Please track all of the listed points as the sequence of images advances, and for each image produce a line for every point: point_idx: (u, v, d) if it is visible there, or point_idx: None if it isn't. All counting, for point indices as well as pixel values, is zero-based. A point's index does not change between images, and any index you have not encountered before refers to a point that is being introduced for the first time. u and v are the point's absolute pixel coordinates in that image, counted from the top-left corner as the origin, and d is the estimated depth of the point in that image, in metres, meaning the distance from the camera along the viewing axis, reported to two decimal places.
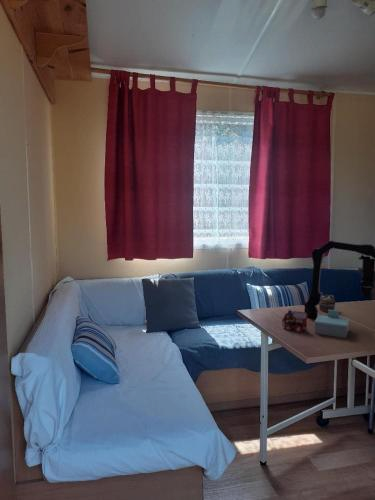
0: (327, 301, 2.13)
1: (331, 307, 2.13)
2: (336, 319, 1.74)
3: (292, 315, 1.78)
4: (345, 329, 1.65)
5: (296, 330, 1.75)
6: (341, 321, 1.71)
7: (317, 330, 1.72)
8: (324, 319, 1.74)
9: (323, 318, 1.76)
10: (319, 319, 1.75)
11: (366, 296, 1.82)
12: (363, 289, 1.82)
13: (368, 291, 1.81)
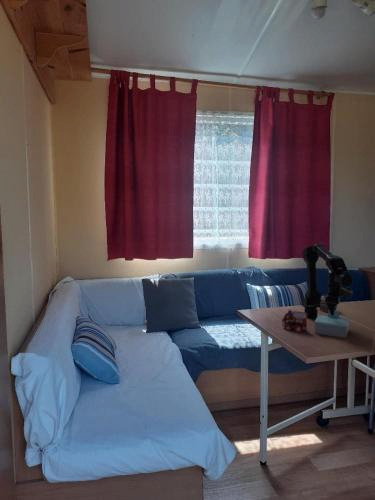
0: None
1: None
2: (336, 319, 1.74)
3: (292, 315, 1.78)
4: (345, 329, 1.65)
5: (296, 330, 1.75)
6: (341, 321, 1.71)
7: (317, 330, 1.72)
8: (324, 319, 1.74)
9: (323, 318, 1.76)
10: (319, 319, 1.75)
11: (332, 312, 1.74)
12: (328, 305, 1.73)
13: (333, 307, 1.72)
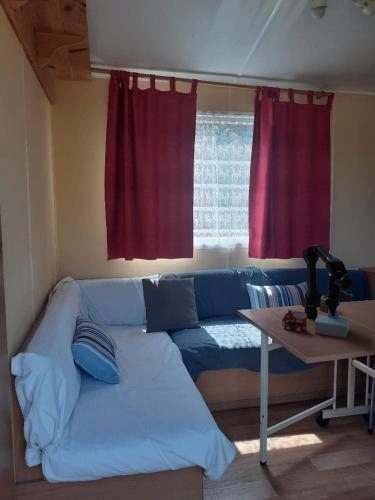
0: None
1: None
2: (336, 319, 1.74)
3: (292, 315, 1.78)
4: (345, 329, 1.65)
5: (296, 330, 1.75)
6: (341, 321, 1.71)
7: (317, 330, 1.72)
8: (324, 319, 1.75)
9: (323, 318, 1.76)
10: (319, 319, 1.75)
11: (332, 313, 1.77)
12: (329, 306, 1.76)
13: (334, 308, 1.76)
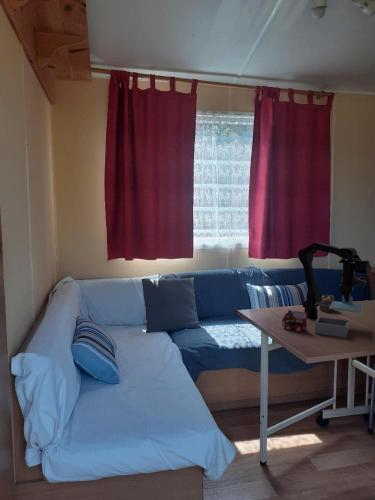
0: (327, 301, 2.13)
1: None
2: (350, 305, 1.81)
3: (292, 315, 1.78)
4: (345, 329, 1.65)
5: (296, 330, 1.75)
6: (355, 307, 1.78)
7: (317, 330, 1.72)
8: (338, 305, 1.81)
9: (337, 304, 1.83)
10: (333, 305, 1.81)
11: (346, 299, 1.84)
12: (343, 292, 1.83)
13: (348, 294, 1.82)
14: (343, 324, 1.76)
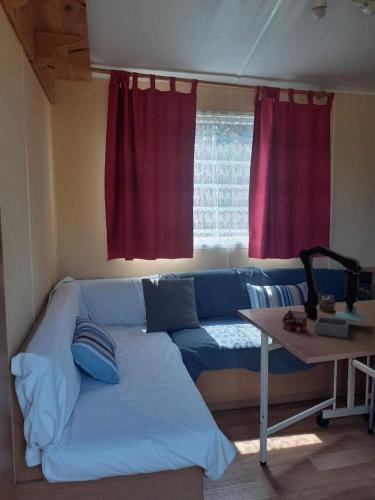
0: (327, 301, 2.13)
1: (331, 307, 2.13)
2: (354, 315, 1.84)
3: (292, 315, 1.78)
4: (345, 329, 1.65)
5: (296, 330, 1.75)
6: (359, 317, 1.81)
7: (317, 330, 1.72)
8: (342, 315, 1.84)
9: (341, 314, 1.86)
10: (337, 315, 1.84)
11: (350, 309, 1.86)
12: (347, 302, 1.86)
13: (352, 304, 1.85)
14: (343, 324, 1.76)
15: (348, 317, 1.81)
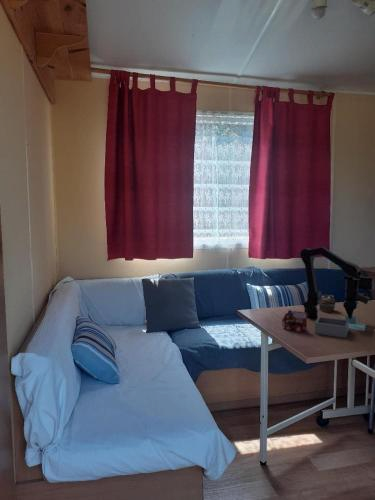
0: (327, 301, 2.13)
1: (331, 307, 2.13)
2: (353, 324, 1.85)
3: (292, 315, 1.78)
4: (345, 329, 1.65)
5: (296, 330, 1.75)
6: (358, 326, 1.81)
7: (317, 330, 1.72)
8: None
9: None
10: None
11: (349, 316, 1.85)
12: (346, 309, 1.84)
13: (351, 311, 1.83)
14: (343, 324, 1.76)
15: (348, 326, 1.82)
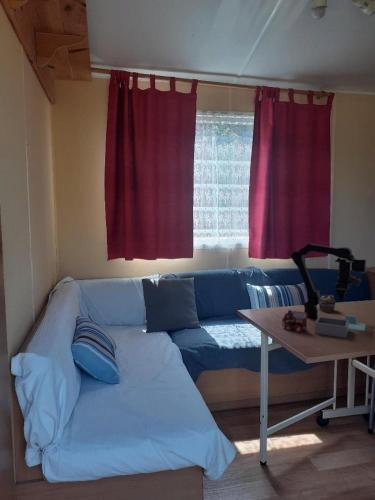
0: (327, 301, 2.13)
1: (331, 307, 2.13)
2: (353, 324, 1.85)
3: (292, 315, 1.78)
4: (345, 329, 1.65)
5: (296, 330, 1.75)
6: (358, 326, 1.81)
7: (317, 330, 1.72)
8: None
9: None
10: None
11: (341, 298, 1.87)
12: (338, 291, 1.87)
13: (343, 293, 1.86)
14: (343, 324, 1.76)
15: (348, 326, 1.82)
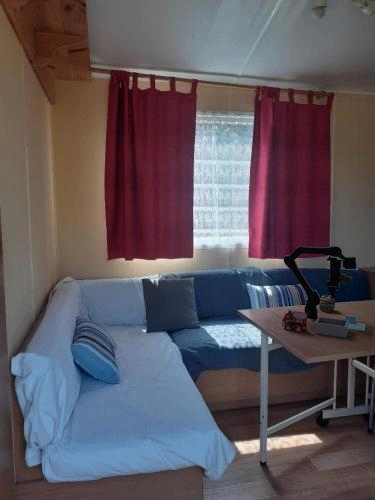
0: (327, 301, 2.13)
1: (331, 307, 2.13)
2: (353, 324, 1.85)
3: (292, 315, 1.78)
4: (345, 329, 1.65)
5: (296, 330, 1.75)
6: (358, 326, 1.81)
7: (317, 330, 1.72)
8: None
9: None
10: None
11: (333, 295, 1.92)
12: (330, 288, 1.92)
13: (334, 290, 1.91)
14: (343, 324, 1.76)
15: (348, 326, 1.82)
